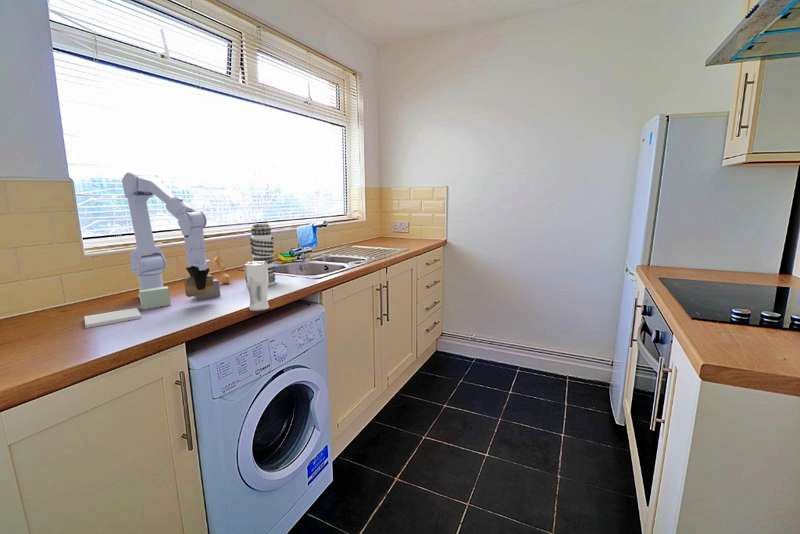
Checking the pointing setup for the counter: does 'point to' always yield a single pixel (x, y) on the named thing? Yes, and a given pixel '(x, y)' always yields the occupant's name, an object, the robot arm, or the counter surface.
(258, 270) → the beer glass
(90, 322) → the white mat
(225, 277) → the figurine
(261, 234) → the decorative candle
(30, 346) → the counter surface
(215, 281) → the grey brick
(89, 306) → the counter surface
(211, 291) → the walnut brick
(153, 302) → the sage brick
